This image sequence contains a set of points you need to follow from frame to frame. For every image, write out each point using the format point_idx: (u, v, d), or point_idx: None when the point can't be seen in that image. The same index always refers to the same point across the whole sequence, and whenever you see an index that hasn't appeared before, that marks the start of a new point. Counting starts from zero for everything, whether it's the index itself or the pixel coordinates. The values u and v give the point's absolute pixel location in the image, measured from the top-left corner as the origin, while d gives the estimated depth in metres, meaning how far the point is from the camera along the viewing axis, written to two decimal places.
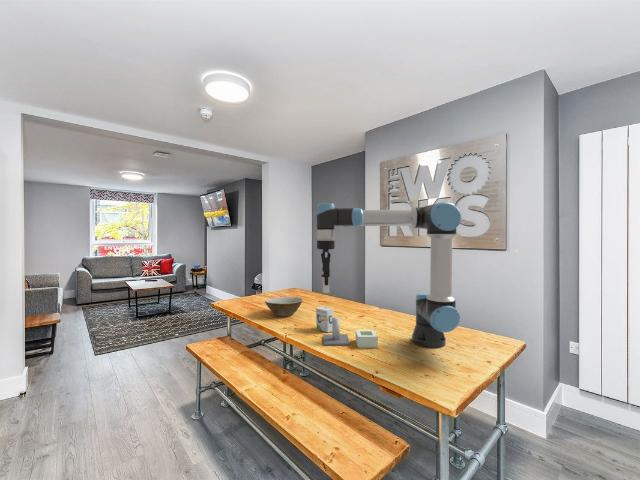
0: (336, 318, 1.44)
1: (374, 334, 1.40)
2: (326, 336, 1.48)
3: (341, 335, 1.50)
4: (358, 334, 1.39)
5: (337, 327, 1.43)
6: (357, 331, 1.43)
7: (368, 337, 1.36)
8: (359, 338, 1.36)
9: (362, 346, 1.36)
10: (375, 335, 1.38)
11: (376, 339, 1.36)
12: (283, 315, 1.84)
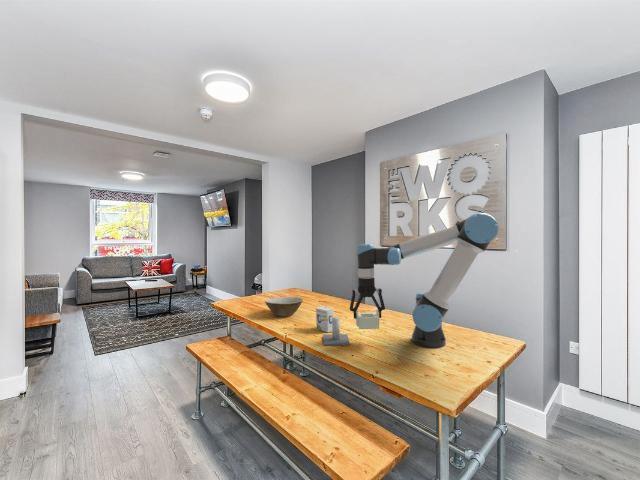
0: (336, 318, 1.44)
1: (375, 315, 1.39)
2: (326, 336, 1.48)
3: (341, 335, 1.50)
4: (359, 316, 1.39)
5: (337, 327, 1.43)
6: (358, 314, 1.43)
7: (369, 318, 1.36)
8: (360, 320, 1.36)
9: (363, 328, 1.36)
10: (377, 316, 1.38)
11: (377, 320, 1.36)
12: (283, 315, 1.84)
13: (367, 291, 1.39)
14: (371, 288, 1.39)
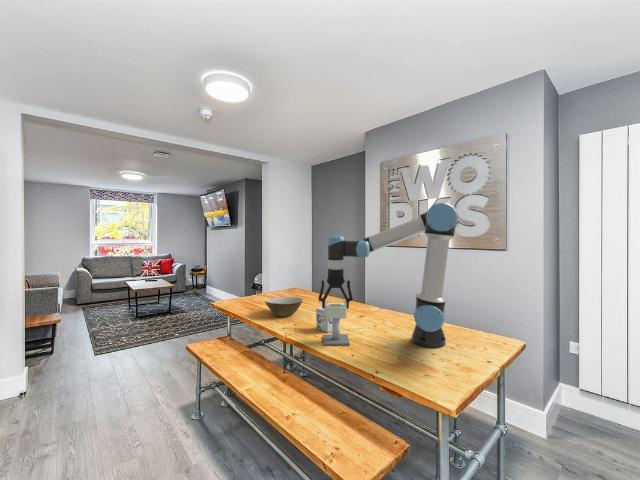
0: (336, 318, 1.44)
1: (343, 305, 1.43)
2: (326, 336, 1.48)
3: (341, 335, 1.50)
4: (327, 306, 1.43)
5: (337, 327, 1.43)
6: (327, 303, 1.47)
7: (336, 308, 1.40)
8: (327, 309, 1.40)
9: (330, 317, 1.40)
10: (344, 306, 1.42)
11: (344, 310, 1.40)
12: (283, 315, 1.84)
13: (336, 282, 1.43)
14: (340, 279, 1.43)
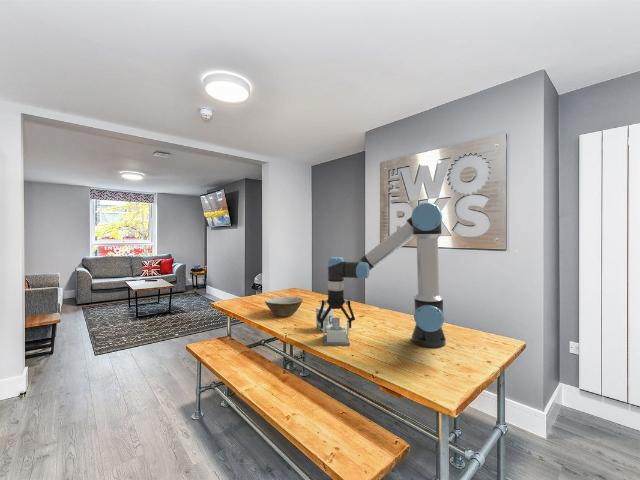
0: (336, 318, 1.44)
1: (343, 329, 1.44)
2: (326, 336, 1.48)
3: None
4: (328, 329, 1.43)
5: (337, 327, 1.43)
6: (327, 326, 1.47)
7: (337, 332, 1.40)
8: (328, 333, 1.40)
9: (331, 341, 1.40)
10: (344, 330, 1.42)
11: (344, 334, 1.40)
12: (283, 315, 1.84)
13: (336, 303, 1.43)
14: (340, 300, 1.43)
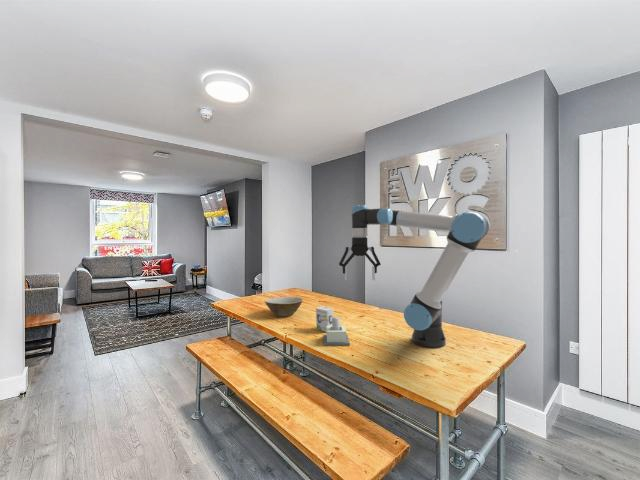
0: (336, 318, 1.44)
1: (343, 329, 1.44)
2: (326, 336, 1.48)
3: None
4: (328, 329, 1.43)
5: (337, 327, 1.43)
6: (327, 326, 1.47)
7: (337, 332, 1.40)
8: (328, 333, 1.40)
9: (331, 341, 1.40)
10: (344, 330, 1.42)
11: (344, 334, 1.40)
12: (283, 315, 1.84)
13: (360, 250, 1.46)
14: (363, 248, 1.46)
